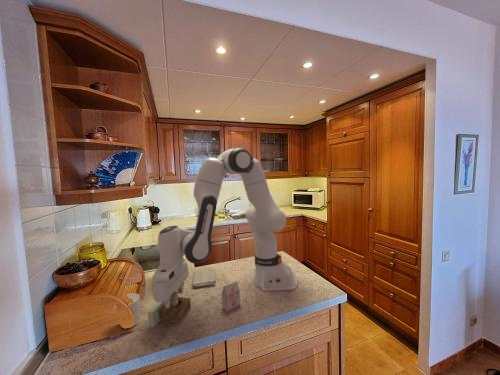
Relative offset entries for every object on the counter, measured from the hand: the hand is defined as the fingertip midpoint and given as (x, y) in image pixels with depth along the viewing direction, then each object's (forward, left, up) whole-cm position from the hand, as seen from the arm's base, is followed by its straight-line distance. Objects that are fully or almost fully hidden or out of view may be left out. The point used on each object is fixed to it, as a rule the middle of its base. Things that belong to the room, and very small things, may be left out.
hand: (174, 299), depth 88 cm
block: (0, 0, -7) cm, 7 cm away
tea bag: (-21, -8, -7) cm, 24 cm away
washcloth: (0, -29, -7) cm, 30 cm away
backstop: (+6, 0, -7) cm, 9 cm away
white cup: (+16, +7, -7) cm, 18 cm away
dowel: (0, 0, -5) cm, 5 cm away
